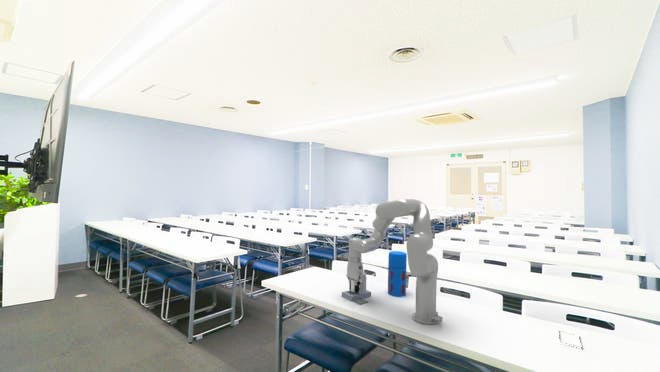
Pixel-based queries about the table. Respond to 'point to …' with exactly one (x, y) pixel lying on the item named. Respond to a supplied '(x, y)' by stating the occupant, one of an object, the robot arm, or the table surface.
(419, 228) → the robot arm
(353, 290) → the plug
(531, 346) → the table surface
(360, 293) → the outlet block
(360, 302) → the pad
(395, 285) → the thermos
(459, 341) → the table surface
